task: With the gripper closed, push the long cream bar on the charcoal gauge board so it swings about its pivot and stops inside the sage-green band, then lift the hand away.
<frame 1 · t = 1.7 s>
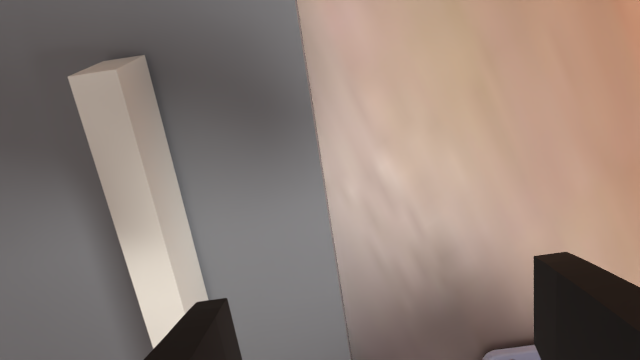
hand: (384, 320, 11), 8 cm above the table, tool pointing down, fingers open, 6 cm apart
cream bar: (179, 312, 17), point 3 cm above the table, hinge at 0.0°
gauge board: (30, 270, 20), on the table
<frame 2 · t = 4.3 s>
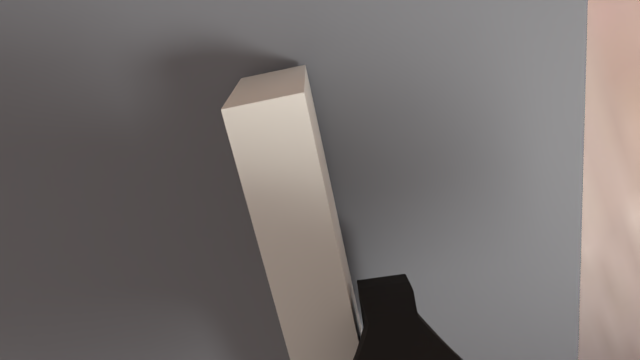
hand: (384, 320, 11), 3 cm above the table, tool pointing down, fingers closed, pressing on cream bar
gauge board: (126, 357, 14), on the table
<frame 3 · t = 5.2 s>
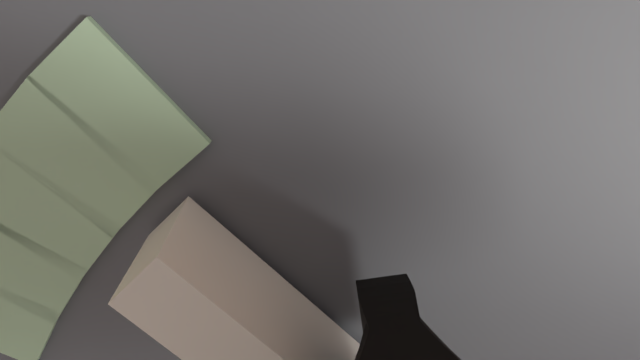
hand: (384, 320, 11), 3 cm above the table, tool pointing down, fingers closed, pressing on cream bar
gauge board: (309, 330, 14), on the table
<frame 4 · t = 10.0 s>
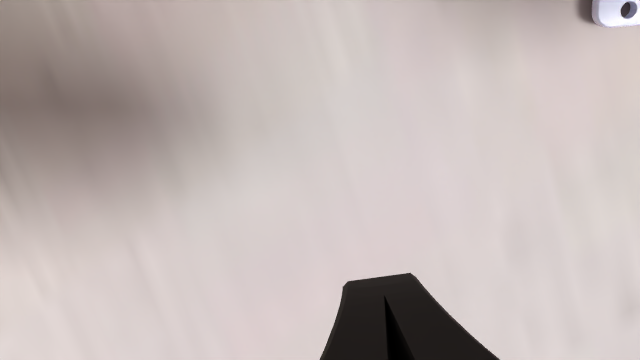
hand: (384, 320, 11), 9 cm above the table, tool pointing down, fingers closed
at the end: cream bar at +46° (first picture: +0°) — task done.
